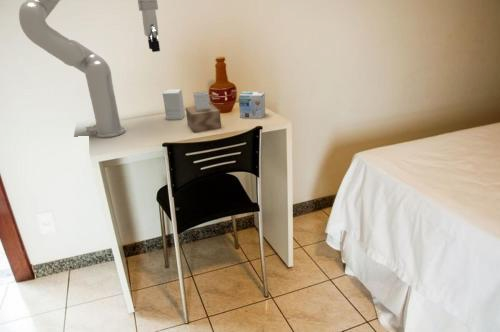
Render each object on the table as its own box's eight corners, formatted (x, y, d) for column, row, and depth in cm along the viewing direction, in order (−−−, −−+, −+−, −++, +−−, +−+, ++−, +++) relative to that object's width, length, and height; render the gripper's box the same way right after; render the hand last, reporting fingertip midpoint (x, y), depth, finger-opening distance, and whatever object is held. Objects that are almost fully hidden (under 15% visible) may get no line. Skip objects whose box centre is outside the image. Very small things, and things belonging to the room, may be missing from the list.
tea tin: (196, 111, 167) (195, 95, 164) (195, 108, 172) (193, 92, 169) (210, 110, 168) (208, 93, 165) (208, 106, 173) (206, 91, 170)
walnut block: (193, 133, 166) (191, 114, 163) (187, 125, 177) (185, 107, 173) (221, 128, 170) (219, 110, 167) (213, 121, 180) (212, 104, 177)
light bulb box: (239, 117, 182) (238, 94, 178) (244, 113, 188) (242, 91, 183) (262, 118, 179) (261, 95, 175) (265, 114, 185) (265, 91, 180)
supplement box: (185, 114, 191) (182, 88, 186) (181, 119, 184) (178, 92, 179) (170, 115, 192) (166, 89, 186) (166, 120, 185) (162, 93, 180)
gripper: (136, 6, 166) (143, 48, 173) (140, 7, 151) (147, 53, 158) (154, 5, 168) (160, 47, 175) (160, 6, 153) (166, 51, 160)
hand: (154, 50), depth 167 cm, fingers open, 9 cm apart
